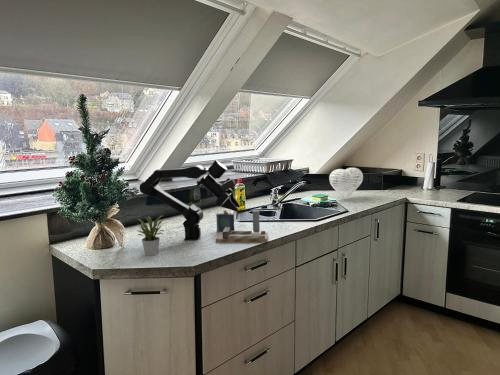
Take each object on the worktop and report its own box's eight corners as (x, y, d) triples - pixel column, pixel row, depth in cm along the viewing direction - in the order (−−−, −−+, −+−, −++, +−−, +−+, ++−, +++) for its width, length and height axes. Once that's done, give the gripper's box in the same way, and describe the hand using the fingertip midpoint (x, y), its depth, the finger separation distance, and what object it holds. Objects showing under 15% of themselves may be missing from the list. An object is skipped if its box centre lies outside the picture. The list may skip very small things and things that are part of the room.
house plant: (175, 247, 166) (173, 210, 164) (169, 257, 152) (167, 217, 150) (141, 248, 166) (139, 211, 163) (132, 258, 152) (130, 218, 150)
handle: (251, 237, 174) (251, 212, 172) (252, 233, 180) (252, 209, 179) (260, 237, 173) (260, 212, 172) (261, 233, 180) (260, 209, 178)
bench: (215, 242, 173) (215, 232, 172) (219, 235, 184) (219, 226, 183) (267, 242, 171) (267, 232, 171) (267, 235, 182) (267, 226, 182)
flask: (216, 231, 192) (215, 210, 191) (218, 230, 195) (217, 209, 193) (233, 232, 189) (232, 211, 188) (235, 231, 192) (234, 210, 190)
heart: (348, 195, 289) (349, 166, 286) (366, 198, 277) (367, 167, 274) (324, 200, 271) (324, 169, 268) (342, 203, 259) (343, 170, 256)
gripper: (221, 175, 165) (249, 199, 165) (226, 171, 183) (251, 192, 184) (204, 194, 166) (232, 218, 167) (211, 188, 185) (236, 209, 185)
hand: (238, 208), depth 176 cm, fingers open, 9 cm apart
